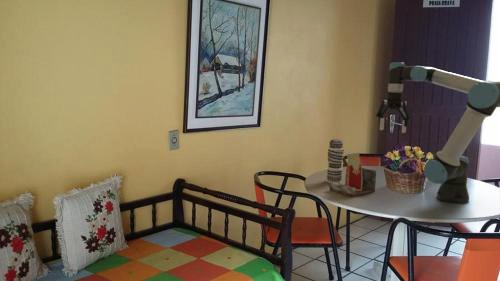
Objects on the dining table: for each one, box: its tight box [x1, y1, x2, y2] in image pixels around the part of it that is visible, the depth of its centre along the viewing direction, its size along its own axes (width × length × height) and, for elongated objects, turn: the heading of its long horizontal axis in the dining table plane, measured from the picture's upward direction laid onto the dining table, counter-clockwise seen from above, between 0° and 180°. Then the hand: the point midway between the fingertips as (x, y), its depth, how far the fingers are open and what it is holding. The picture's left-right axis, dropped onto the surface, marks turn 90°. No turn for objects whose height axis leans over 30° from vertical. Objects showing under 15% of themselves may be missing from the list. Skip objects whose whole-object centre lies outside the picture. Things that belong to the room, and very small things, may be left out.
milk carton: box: [344, 152, 362, 191], centre depth 232 cm, size 9×9×20 cm
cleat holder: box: [328, 166, 377, 198], centre depth 233 cm, size 16×19×12 cm
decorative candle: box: [326, 138, 344, 184], centre depth 253 cm, size 9×9×25 cm
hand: (392, 131), depth 234 cm, fingers open, 13 cm apart
